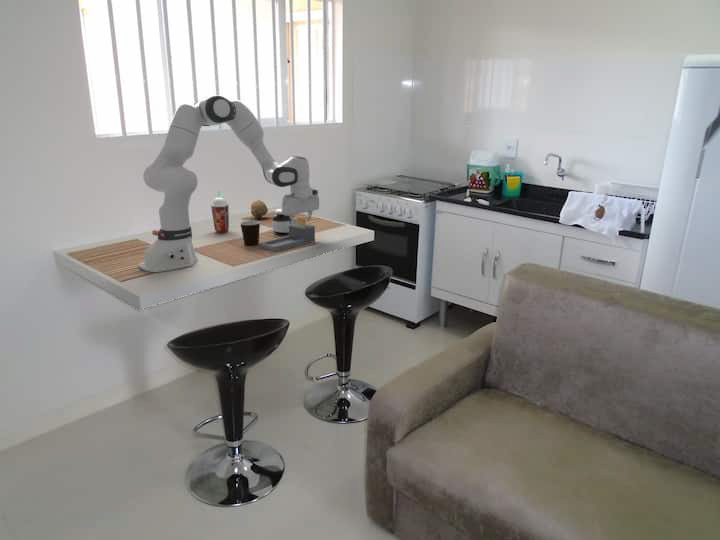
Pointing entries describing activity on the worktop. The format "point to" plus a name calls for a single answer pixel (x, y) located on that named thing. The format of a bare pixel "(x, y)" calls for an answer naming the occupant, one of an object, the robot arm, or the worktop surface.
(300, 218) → the ticket
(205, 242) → the worktop surface
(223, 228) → the smoothie
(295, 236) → the dispenser
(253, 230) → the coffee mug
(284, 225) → the spread jar
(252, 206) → the natural sponge
